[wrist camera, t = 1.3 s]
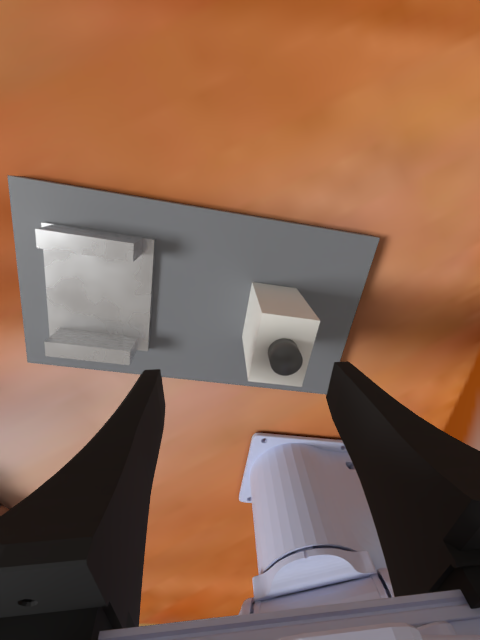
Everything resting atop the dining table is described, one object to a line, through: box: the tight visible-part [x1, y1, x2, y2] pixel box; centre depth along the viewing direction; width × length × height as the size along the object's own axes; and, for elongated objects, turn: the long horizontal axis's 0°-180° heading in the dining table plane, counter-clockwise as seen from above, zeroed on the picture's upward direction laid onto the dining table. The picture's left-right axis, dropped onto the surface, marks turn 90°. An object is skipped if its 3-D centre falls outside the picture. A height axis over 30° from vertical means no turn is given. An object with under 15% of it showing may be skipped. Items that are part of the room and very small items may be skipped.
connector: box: [242, 282, 320, 387], centre depth 18 cm, size 3×4×6 cm
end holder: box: [35, 222, 156, 365], centre depth 19 cm, size 6×8×2 cm
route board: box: [8, 175, 380, 394], centre depth 21 cm, size 22×12×1 cm, turn 81°
